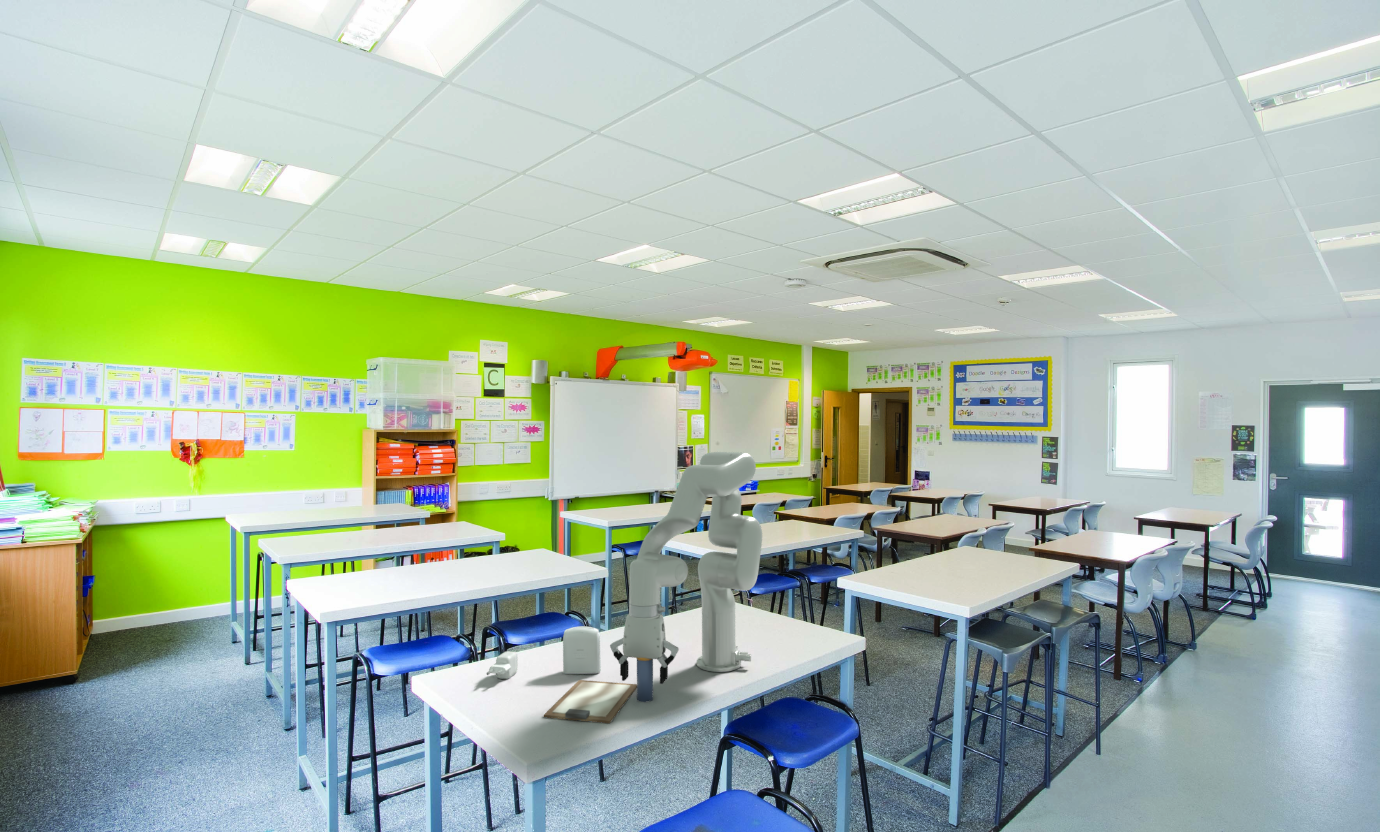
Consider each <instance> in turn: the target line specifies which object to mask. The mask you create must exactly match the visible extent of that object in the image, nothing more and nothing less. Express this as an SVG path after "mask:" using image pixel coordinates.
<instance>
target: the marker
mask: <svg viewBox="0 0 1380 832" xmlns="http://www.w3.org/2000/svg"><path fill="white" fill-rule="evenodd" d="M636 684H637V688H636V700H637V702H640V703H641V702H642V703H648V702H652V701H653V700H654V659H647V658H636Z"/></svg>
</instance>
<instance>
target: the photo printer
mask: <svg viewBox="0 0 1380 832" xmlns="http://www.w3.org/2000/svg"><path fill="white" fill-rule="evenodd" d="M599 630H600V629H599V628H595V627H591V626H584V625H583V626H574V627H569V628H567V629H565V630H564V632H563V637H562V662H563V663H562V667H563V668H562V669H563V674H564V675H584V674H585V675H586V674H587V675H588V674H590V675H591V674H592V675H593V674H600V673H601V667H602V666H601V635H600V631H599Z"/></svg>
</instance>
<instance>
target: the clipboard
mask: <svg viewBox="0 0 1380 832" xmlns="http://www.w3.org/2000/svg"><path fill="white" fill-rule="evenodd" d="M636 690H637V683H625V682H624V683H623V682H614V681H613V682H611V681H600V680H599V681H597V680H585V679H578V680H577V682H575V683H574V685H572V686H571V687H570V688H569V689H568V691H566V692H565V693H564V694H563V695H562V697H560V698H559V699H558V700H556V702H555V703H554V704H553V705H551V707H550V708H549V709H548V710H546V712H545V713H544V714H543V718H544V717H547V719H555V718H557V719H558V720H566V719H568V720H569V721H577V720H581V721H580V722H588V721H592V722H591V723H601V722H602V723H603V724H611V722H612V721H613V720H614V719H615V717H616V716H617V715H618V713H619V712H620V711H619V710H621V709H622V708H623V707H624V705H626V703H627V701H628V700H629V699H630V698H631V696H632V695H633V694H634V692H635V691H636ZM628 698H629V699H628ZM625 702H626V703H625ZM622 706H623V707H622ZM618 711H619V712H618ZM602 723H601V724H602Z"/></svg>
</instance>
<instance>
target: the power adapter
mask: <svg viewBox="0 0 1380 832" xmlns="http://www.w3.org/2000/svg"><path fill="white" fill-rule="evenodd" d="M518 659H519V658H518V652H516V651H508V650H507V651H504V652H503V653H500V655H498V656H497V657H496V659H495V663H494V664H493V665H491V666H490V667H489V669H488V671H487V672H486V675H487V676H489V675H490V674H495V677H496V678H497V679H502V680H508V679H510V678H512V677H513V676H514V675H516V674H517V672H518V664H519V663H518Z"/></svg>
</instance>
